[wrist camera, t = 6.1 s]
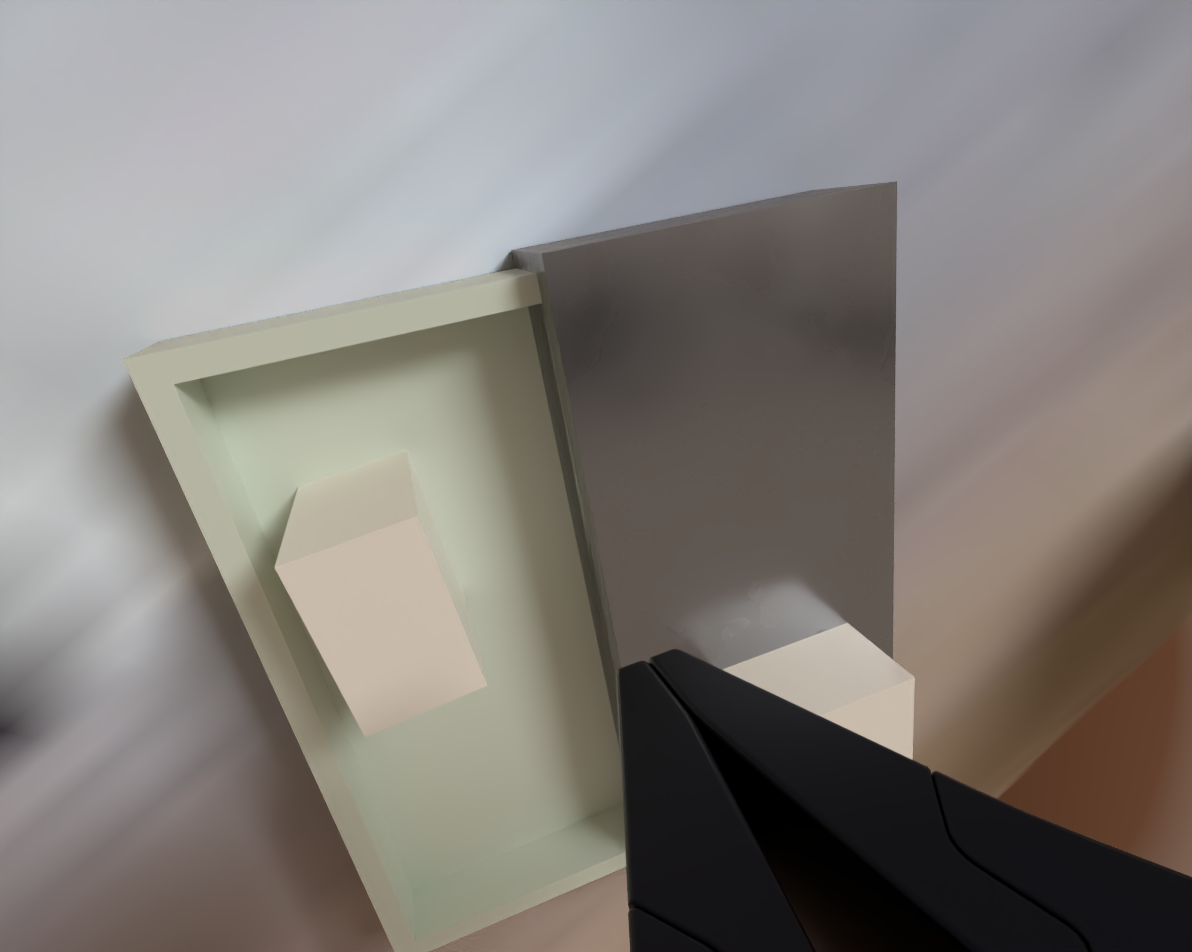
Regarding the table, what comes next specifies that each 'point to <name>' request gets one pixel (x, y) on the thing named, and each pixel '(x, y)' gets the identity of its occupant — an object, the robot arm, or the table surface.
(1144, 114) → the table surface
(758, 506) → the plate
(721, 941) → the robot arm
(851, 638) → the tile
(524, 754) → the box
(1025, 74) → the table surface
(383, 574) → the tile
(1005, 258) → the table surface
